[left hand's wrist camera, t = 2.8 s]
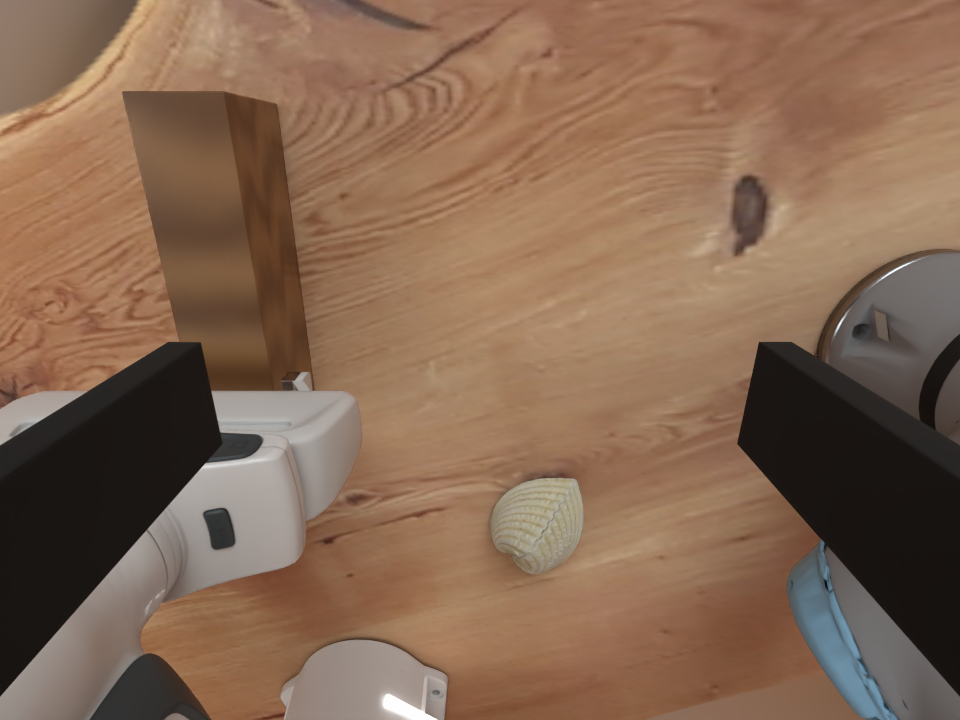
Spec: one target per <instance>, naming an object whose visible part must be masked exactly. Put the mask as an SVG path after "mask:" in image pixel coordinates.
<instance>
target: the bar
mask: <svg viewBox="0 0 960 720" xmlns="http://www.w3.org/2000/svg"><path fill="white" fill-rule="evenodd" d="M122 94H123V99H124V103H125V107H126V112H127V116H128V120H129V125H130V129H131V133H132V138H133V142H134V146H135V151H136V155H137V160H138V164H139V168H140V173H141V177H142V181H143V186H144V190H145V194H146V199H147V203H148V207H149V212H150V216H151V220H152V225H153V229H154V233H155V238H156V242H157V246H158V251H159V255H160V259H161V264H162V268H163V272H164V277H165V281H166V285H167V290H168V294H169V298H170V303H171V307H172V311H173V316H174V320H175V324H176V329H177V333H178V337H179V342H201V345H202V349H203V354H204V359H205V363H206V368H207V373H208V377H209V382H210V387H211V391H283V390H282V387H281V380H282V378H283V377H284V376H286V373H287V372H309V373H310V375H311V381H312V391H314V383H313V376H312V368H311V361H310V353H309V346H308V338H307V330H306V323H305V315H304V308H303V300H302V293H301V285H300V277H299V270H298V262H297V255H296V247H295V239H294V232H293V224H292V217H291V209H290V202H289V194H288V186H287V179H286V171H285V164H284V156H283V148H282V141H281V133H280V126H279V118H278V111H277V104H275V103H271V102H267V101H263V100H258V99H254V98H250V97H245V96H241V95H237V94H232V93H228V92H224V91H123V92H122Z"/></svg>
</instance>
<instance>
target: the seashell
mask: <svg viewBox="0 0 960 720" xmlns="http://www.w3.org/2000/svg"><path fill="white" fill-rule="evenodd" d="M582 528H583V503H582V498H581V493H580V490H579V487H578V483H577V480H576V479H571V478H542V479H536V480H532V481H528V482H524V483H521V484H520V485H518V486H516V487H514V488H512V489H511V490H509V491H508V492H507V493H505V494H504V495H503V496H502V497H501V499H500V500H499V501H498V502H497V504H496V505H495V507H494V510H493V512H492V515H491V521H490V530H491V535H492V540H493V543H494V545H495V547H496V548H497V549H498V550H499V551H501V552H503V553H509V554H510V555H511V556H512V557H513V560H514V562H515V563H516V565H517V566H518V567H519V568H520V569H522V570H523V571H525V572H527V573H530V574H540V573H544V572H546V571H548V570H550V569H553V568H555V567H557V566H558V565H560V564H562V563H563V562H564V561H565V560H566V559H567V558H568V557H569V556H570V555H571V554H572V553H573V551H574V550H575V548H576V546H577V544H578V542H579V540H580V537H581V532H582Z"/></svg>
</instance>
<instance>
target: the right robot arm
mask: <svg viewBox="0 0 960 720" xmlns="http://www.w3.org/2000/svg"><path fill="white" fill-rule="evenodd" d="M281 387H282V390H283V391H212V396H213V401H214V405H215V410H216V415H217V419H218V424H219V429H220V433H221V438H222V443H223V444H222V445H221V446H220V447H219V448H218V450H217V451H216V452H215V453H214V454H213V455H212V456H211V458H210V459H209V460H208V461H207V462H206V463H205V464H204V466H203V467H202V468H201V469H200V470H199V471H198V472H197V474H196V475H195V476H194V477H193V478H192V479H191V480H190V481H189V483H188V484H187V485H186V486H185V487H184V488H183V489H182V491H181V492H180V493H179V494H178V495H177V496H176V497H175V499H174V500H173V501H172V502H171V503H170V504H169V505H168V506H167V508H166V509H165V510H164V511H163V512H162V513H161V514H160V516H159V517H158V518H157V519H156V520H155V521H154V522H153V524H152V525H151V526H150V527H149V528H148V529H147V530H146V532H145V533H144V534H143V535H142V536H141V537H140V538H139V539H138V541H137V542H136V543H135V544H134V545H133V546H132V547H131V549H130V550H129V551H128V552H127V553H126V554H125V555H124V557H123V558H122V559H121V560H120V561H119V562H118V563H117V565H116V566H115V567H114V568H113V569H112V570H111V571H110V572H109V574H108V575H107V576H106V577H105V578H104V579H103V580H102V582H101V583H100V584H99V585H98V586H97V587H96V588H95V590H94V591H93V592H92V593H91V594H90V595H89V596H88V597H87V599H86V600H85V601H84V602H83V603H82V604H81V605H80V607H79V608H78V609H77V610H76V611H75V612H74V613H73V615H72V616H71V617H70V618H69V619H68V620H67V621H66V623H65V624H64V625H63V626H62V627H61V628H60V629H59V630H58V632H57V633H56V634H55V635H54V636H53V637H52V638H51V640H50V641H49V642H48V643H47V644H46V645H45V646H44V648H43V649H42V650H41V651H40V652H39V653H38V654H37V656H36V657H35V658H34V659H33V660H32V661H31V662H30V663H29V665H28V666H27V667H26V668H25V669H24V670H23V671H22V673H21V674H20V675H19V676H18V677H17V678H16V679H15V681H14V682H13V683H12V684H11V685H10V686H9V687H8V688H7V690H6V691H5V692H4V693H3V694H2V695H1V696H0V720H211V719H210V717H209V715H208V714H207V712H206V711H205V709H204V708H203V706H202V705H201V704H200V702H199V701H198V700H197V698H196V697H195V696H194V694H193V693H192V691H191V690H190V689H189V687H188V686H187V685H186V684H185V683H184V681H183V680H182V679H181V678H180V677H179V675H178V674H177V673H176V672H175V671H174V669H173V668H172V667H171V666H170V665H169V664H168V663H167V662H166V661H165V660H164V659H162V658H161V657H159V656H157V655H155V654H151V653H149V654H146V653H145V651H144V650H143V648H142V645H141V632H142V629H143V627H144V625H145V624H146V623H147V621H148V620H149V619H150V617H151V616H152V615H153V614H154V613H155V612H156V610H157V609H158V608H159V606H160V605H161V603H163V602H168V601H172V600H175V599H178V598H181V597H184V596H186V595H189V594H191V593H194V592H196V591H199V590H202V589H205V588H208V587H211V586H214V585H218V584H221V583H225V582H228V581H232V580H236V579H239V578H243V577H248V576H252V575H256V574H260V573H265V572H269V571H273V570H278V569H281V568H285V567H287V566H290V565H291V564H293V563H295V562H296V561H297V560H298V559H299V558H300V556H301V555H302V553H303V550H304V548H305V544H306V521H309V520H311V519H313V518H315V517H316V516H318V515H320V514H321V513H322V512H324V511H325V510H326V509H327V508H328V507H329V506H330V505H331V503H332V502H333V501H334V500H335V498H336V497H337V495H338V493H339V492H340V490H341V489H342V487H343V485H344V483H345V482H346V480H347V478H348V476H349V474H350V472H351V470H352V468H353V466H354V464H355V461H356V459H357V457H358V454H359V451H360V448H361V443H362V427H361V417H360V410H359V404H358V401H357V399H356V398H355V397H354V396H352V395H351V394H350V393H348V392H346V391H312V381H311V375H310V373H309V372H287V373H286V376H284V377H283V378H282V380H281ZM86 392H88V391H43V392H39V393H35V394H31V395H28V396H25V397H22V398H19V399H17V400H15V401H13V402H11V403H9V404H8V405H6V406H5V407H3V408H2V409H0V445H1V444H3V443H5V442H6V441H8V440H9V439H11V438H13V437H14V436H16V435H18V434H19V433H21V432H22V431H24V430H26V429H27V428H29V427H31V426H32V425H34V424H36V423H37V422H39V421H40V420H42V419H44V418H45V417H47V416H49V415H50V414H52V413H53V412H55V411H57V410H58V409H60V408H62V407H63V406H65V405H67V404H68V403H70V402H71V401H73V400H75V399H76V398H78V397H80V396H81V395H83V394H84V393H86ZM447 689H448V677H447V675H446V674H444V673H443V672H441V671H438V670H436V669H433V668H430V667H427V666H424V665H423V664H421V663H420V662H418V661H417V660H416V659H415V658H413V657H412V656H411V655H409V654H408V653H406V652H405V651H403V650H401V649H399V648H397V647H395V646H392V645H389V644H386V643H383V642H378V641H372V640H346V641H341V642H337V643H333V644H330V645H328V646H325V647H323V648H321V649H320V650H318V651H317V652H315V653H314V654H313V655H312V656H311V657H310V658H309V659H308V660H307V661H306V663H305V664H304V666H303V668H302V670H301V671H300V673H299V674H298V675H297V676H295V677H294V678H292V679H291V680H289V681H288V682H286V683H285V684H284V685H283V687H282V691H281V695H280V698H281V700H282V702H283V703H284V705H285V706H286V708H287V709H286V713H285V716H284V720H445V710H446V699H447Z"/></svg>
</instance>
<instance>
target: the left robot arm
mask: <svg viewBox="0 0 960 720" xmlns="http://www.w3.org/2000/svg"><path fill="white" fill-rule="evenodd" d="M222 444H223V443H222V438H221V433H220V429H219V424H218V419H217V415H216V410H215V405H214V401H213V396H212V391H211V387H210V382H209V377H208V373H207V368H206V363H205V359H204V354H203V349H202V345H201V342H168V343H166V344H164V345H163V346H161V347H159V348H158V349H156V350H155V351H153V352H151V353H150V354H148V355H146V356H145V357H143V358H142V359H140V360H138V361H137V362H135V363H133V364H132V365H130V366H128V367H127V368H125V369H124V370H122V371H120V372H119V373H117V374H115V375H114V376H112V377H111V378H109V379H107V380H106V381H104V382H102V383H101V384H99V385H97V386H96V387H94V388H93V389H91V390H89V391H88V392H86V393H84V394H83V395H81V396H80V397H78V398H76V399H75V400H73V401H71V402H70V403H68V404H67V405H65V406H63V407H62V408H60V409H58V410H57V411H55V412H53V413H52V414H50V415H49V416H47V417H45V418H44V419H42V420H40V421H39V422H37V423H36V424H34V425H32V426H31V427H29V428H27V429H26V430H24V431H22V432H21V433H19V434H18V435H16V436H14V437H13V438H11V439H9V440H8V441H6V442H5V443H3V444H1V445H0V696H1V695H2V694H3V693H4V692H5V691H6V690H7V688H8V687H9V686H10V685H11V684H12V683H13V682H14V681H15V679H16V678H17V677H18V676H19V675H20V674H21V673H22V671H23V670H24V669H25V668H26V667H27V666H28V665H29V663H30V662H31V661H32V660H33V659H34V658H35V657H36V656H37V654H38V653H39V652H40V651H41V650H42V649H43V648H44V646H45V645H46V644H47V643H48V642H49V641H50V640H51V638H52V637H53V636H54V635H55V634H56V633H57V632H58V630H59V629H60V628H61V627H62V626H63V625H64V624H65V623H66V621H67V620H68V619H69V618H70V617H71V616H72V615H73V613H74V612H75V611H76V610H77V609H78V608H79V607H80V605H81V604H82V603H83V602H84V601H85V600H86V599H87V597H88V596H89V595H90V594H91V593H92V592H93V591H94V590H95V588H96V587H97V586H98V585H99V584H100V583H101V582H102V580H103V579H104V578H105V577H106V576H107V575H108V574H109V572H110V571H111V570H112V569H113V568H114V567H115V566H116V565H117V563H118V562H119V561H120V560H121V559H122V558H123V557H124V555H125V554H126V553H127V552H128V551H129V550H130V549H131V547H132V546H133V545H134V544H135V543H136V542H137V541H138V539H139V538H140V537H141V536H142V535H143V534H144V533H145V532H146V530H147V529H148V528H149V527H150V526H151V525H152V524H153V522H154V521H155V520H156V519H157V518H158V517H159V516H160V514H161V513H162V512H163V511H164V510H165V509H166V508H167V506H168V505H169V504H170V503H171V502H172V501H173V500H174V499H175V497H176V496H177V495H178V494H179V493H180V492H181V491H182V489H183V488H184V487H185V486H186V485H187V484H188V483H189V481H190V480H191V479H192V478H193V477H194V476H195V475H196V474H197V472H198V471H199V470H200V469H201V468H202V467H203V466H204V464H205V463H206V462H207V461H208V460H209V459H210V458H211V456H212V455H213V454H214V453H215V452H216V451H217V450H218V448H219V447H220V446H221V445H222ZM737 444H738V445H739V446H740V447H741V448H742V450H743V451H744V452H745V453H746V454H747V455H748V456H749V458H750V459H751V460H752V461H753V462H754V463H755V464H756V466H757V467H758V468H759V469H760V470H761V471H762V472H763V474H764V475H765V476H766V477H767V478H768V479H769V480H770V481H771V483H772V484H773V485H774V486H775V487H776V488H777V489H778V491H779V492H780V493H781V494H782V495H783V496H784V497H785V499H786V500H787V501H788V502H789V503H790V504H791V505H792V507H793V508H794V509H795V510H796V511H797V512H798V513H799V514H800V516H801V517H802V518H803V519H804V520H805V521H806V522H807V524H808V525H809V526H810V527H811V528H812V529H813V530H814V532H815V533H816V534H817V535H818V536H819V537H820V540H819V542H818V544H817V545H816V546H815V547H814V548H813V549H812V550H811V551H810V552H809V553H808V554H807V555H806V556H805V557H804V558H802V559H801V560H800V561H799V562H798V563H797V564H796V565H795V566H794V567H793V568H792V570H791V572H790V574H789V576H788V580H787V594H788V597H789V603H790V604H789V605H790V608H791V610H792V613H793V616H794V619H795V621H796V623H797V625H798V627H799V629H800V631H801V633H802V635H803V637H804V639H805V641H806V643H807V645H808V646H809V648H810V650H811V651H812V653H813V655H814V656H815V658H816V659H817V661H818V663H819V664H820V666H821V667H822V669H823V670H824V672H825V673H826V674H827V676H828V677H829V679H830V680H831V682H832V683H833V684H834V686H835V687H836V688H837V690H838V691H839V693H840V694H841V695H842V696H843V698H844V699H845V700H846V702H847V703H848V704H849V705H850V706H851V708H852V709H853V710H854V711H855V712H856V713H857V714H858V715H859V716H860V717H861V718H865V719H866V720H960V251H959V250H951V249H935V250H926V251H920V252H916V253H912V254H909V255H906V256H903V257H900V258H898V259H896V260H893V261H891V262H889V263H887V264H885V265H883V266H882V267H880V268H878V269H877V270H875V271H874V272H872V273H870V274H869V275H868V276H867V277H865V278H864V279H863V280H861V281H860V282H859V283H858V284H857V285H856V286H854V287H853V288H852V289H851V291H850V292H849V293H848V294H847V295H846V296H845V297H844V298H843V299H842V301H841V302H840V303H839V304H838V306H837V307H836V309H835V310H834V312H833V313H832V315H831V317H830V318H829V320H828V322H827V324H826V326H825V329H824V331H823V334H822V337H821V340H820V344H819V349H818V358H817V357H815V356H814V355H812V354H810V353H809V352H807V351H805V350H804V349H802V348H801V347H799V346H797V345H796V344H794V343H792V342H759V345H758V349H757V354H756V359H755V363H754V368H753V373H752V377H751V382H750V387H749V391H748V396H747V401H746V405H745V410H744V415H743V419H742V424H741V429H740V433H739V438H738V443H737Z"/></svg>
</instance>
